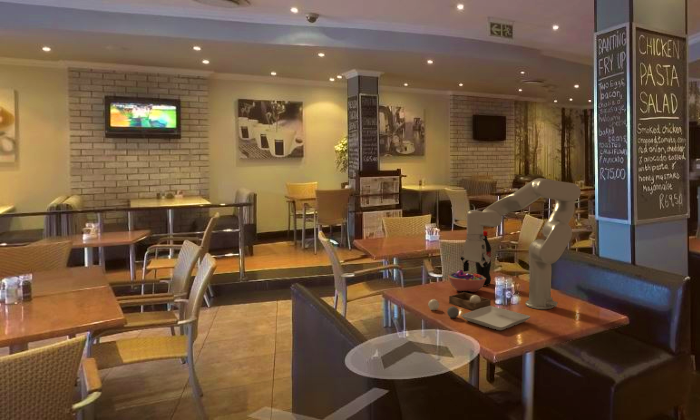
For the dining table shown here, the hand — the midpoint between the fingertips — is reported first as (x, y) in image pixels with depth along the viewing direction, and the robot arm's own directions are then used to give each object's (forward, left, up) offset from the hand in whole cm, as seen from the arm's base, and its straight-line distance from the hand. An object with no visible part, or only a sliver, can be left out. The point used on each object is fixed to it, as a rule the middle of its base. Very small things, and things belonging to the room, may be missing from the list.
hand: (474, 273), depth 230 cm
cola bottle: (+24, -36, -16) cm, 46 cm away
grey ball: (-5, +19, -16) cm, 26 cm away
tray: (+3, -1, -16) cm, 17 cm away
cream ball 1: (+8, +18, -16) cm, 26 cm away
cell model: (+20, -18, -17) cm, 32 cm away
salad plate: (-20, +9, -17) cm, 28 cm away
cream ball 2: (0, -1, -16) cm, 16 cm away
